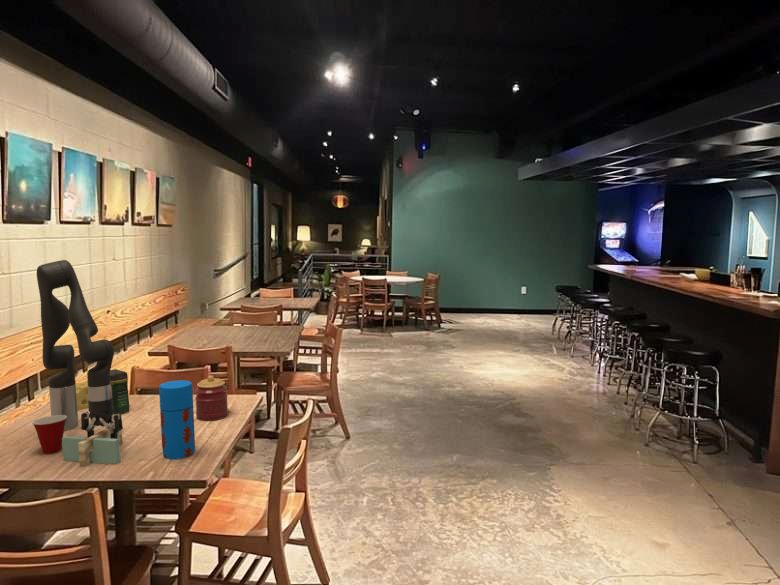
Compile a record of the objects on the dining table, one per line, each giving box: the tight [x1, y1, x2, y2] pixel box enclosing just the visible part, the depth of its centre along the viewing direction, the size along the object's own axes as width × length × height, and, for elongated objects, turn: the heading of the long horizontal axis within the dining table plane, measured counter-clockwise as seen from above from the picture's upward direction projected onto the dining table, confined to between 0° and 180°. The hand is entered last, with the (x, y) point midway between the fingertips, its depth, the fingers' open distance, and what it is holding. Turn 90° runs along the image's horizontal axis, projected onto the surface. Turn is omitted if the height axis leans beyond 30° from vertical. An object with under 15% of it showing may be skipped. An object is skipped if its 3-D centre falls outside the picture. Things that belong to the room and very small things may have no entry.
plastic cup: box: [31, 415, 67, 455], centre depth 203 cm, size 11×11×12 cm
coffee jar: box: [110, 368, 130, 415], centre depth 246 cm, size 10×8×19 cm
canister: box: [194, 374, 229, 422], centre depth 240 cm, size 13×13×18 cm
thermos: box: [158, 379, 196, 460], centre depth 199 cm, size 11×11×25 cm
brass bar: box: [78, 427, 124, 467], centre depth 199 cm, size 20×2×8 cm, turn 171°
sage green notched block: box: [62, 435, 121, 465], centre depth 194 cm, size 20×2×8 cm, turn 81°
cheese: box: [76, 381, 89, 411], centre depth 256 cm, size 10×11×10 cm
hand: (102, 442), depth 200 cm, fingers open, 8 cm apart
